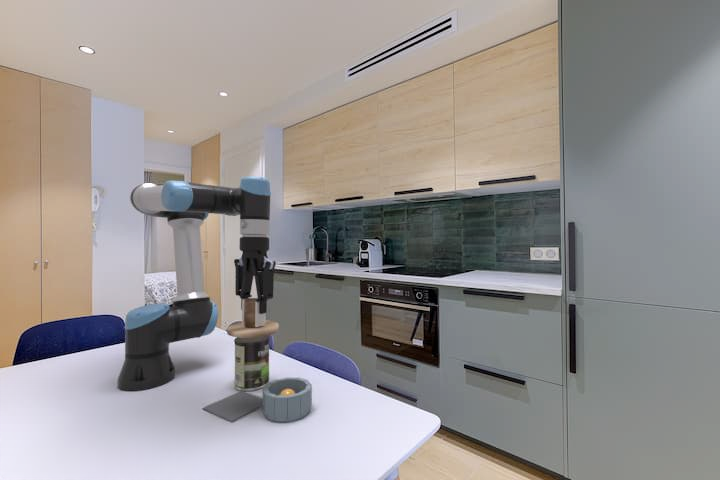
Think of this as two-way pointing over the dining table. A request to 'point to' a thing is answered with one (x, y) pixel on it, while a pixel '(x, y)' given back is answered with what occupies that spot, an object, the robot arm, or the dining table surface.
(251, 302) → the lid
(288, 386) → the bowl
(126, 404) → the dining table surface
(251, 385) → the coffee can
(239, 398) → the mat
